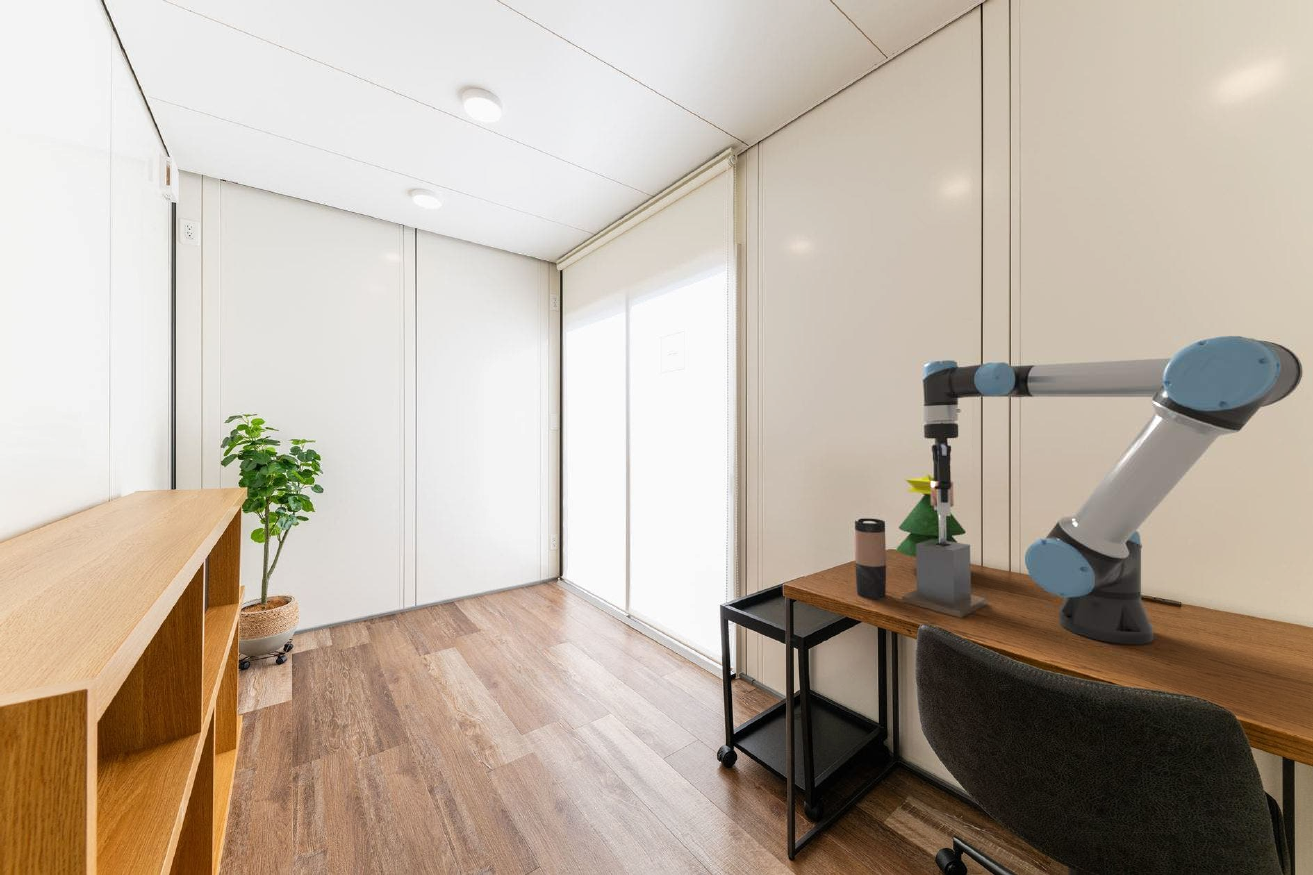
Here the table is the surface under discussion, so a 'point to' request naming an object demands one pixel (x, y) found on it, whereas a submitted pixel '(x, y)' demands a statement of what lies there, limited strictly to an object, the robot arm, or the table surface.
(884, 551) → the travel mug
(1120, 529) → the robot arm
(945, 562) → the press housing
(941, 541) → the plunger
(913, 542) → the decorative tree
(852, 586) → the table surface
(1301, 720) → the table surface
